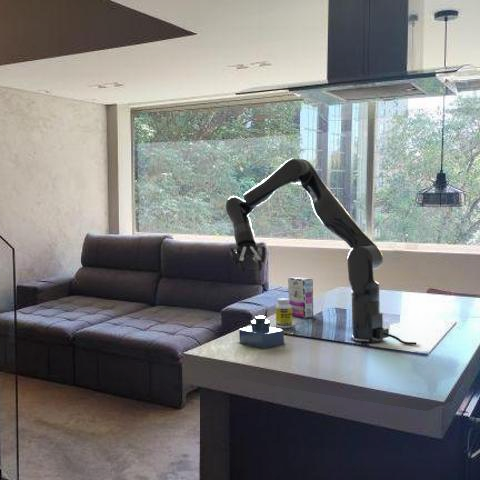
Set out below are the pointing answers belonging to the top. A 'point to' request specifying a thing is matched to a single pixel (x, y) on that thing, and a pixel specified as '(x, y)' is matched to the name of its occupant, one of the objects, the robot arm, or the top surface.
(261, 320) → the button
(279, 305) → the pill bottle
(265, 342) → the blue square base
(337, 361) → the top surface
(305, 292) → the candy bar box
